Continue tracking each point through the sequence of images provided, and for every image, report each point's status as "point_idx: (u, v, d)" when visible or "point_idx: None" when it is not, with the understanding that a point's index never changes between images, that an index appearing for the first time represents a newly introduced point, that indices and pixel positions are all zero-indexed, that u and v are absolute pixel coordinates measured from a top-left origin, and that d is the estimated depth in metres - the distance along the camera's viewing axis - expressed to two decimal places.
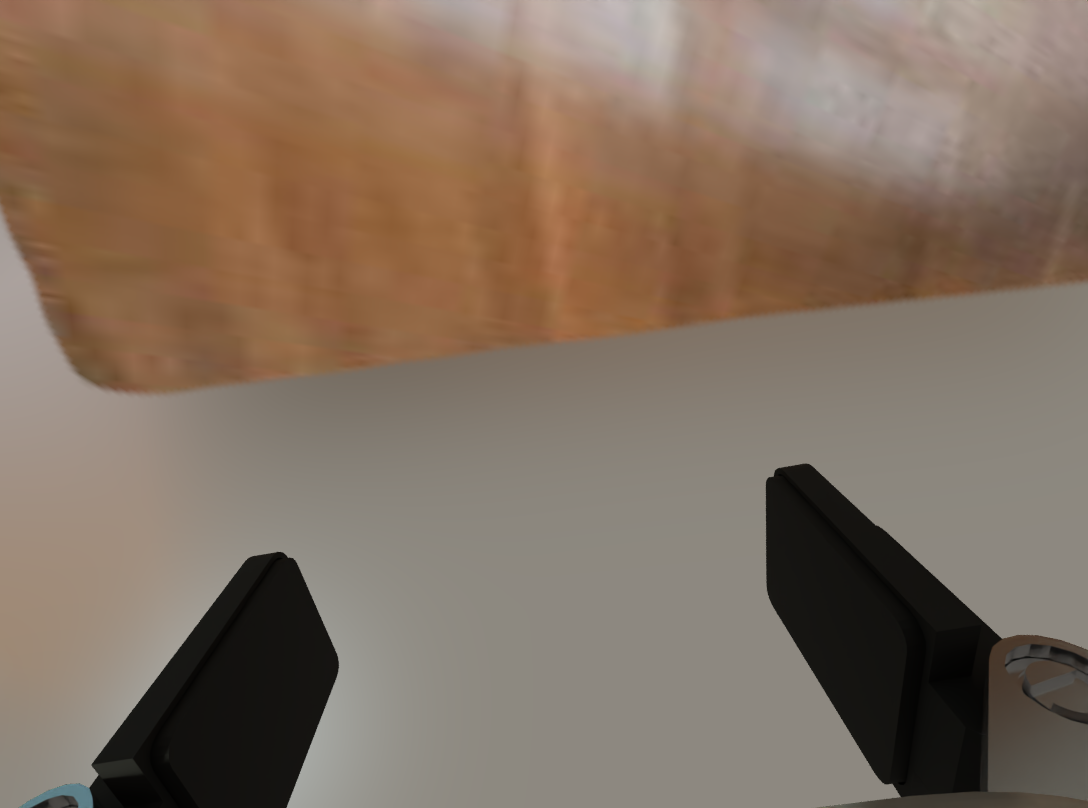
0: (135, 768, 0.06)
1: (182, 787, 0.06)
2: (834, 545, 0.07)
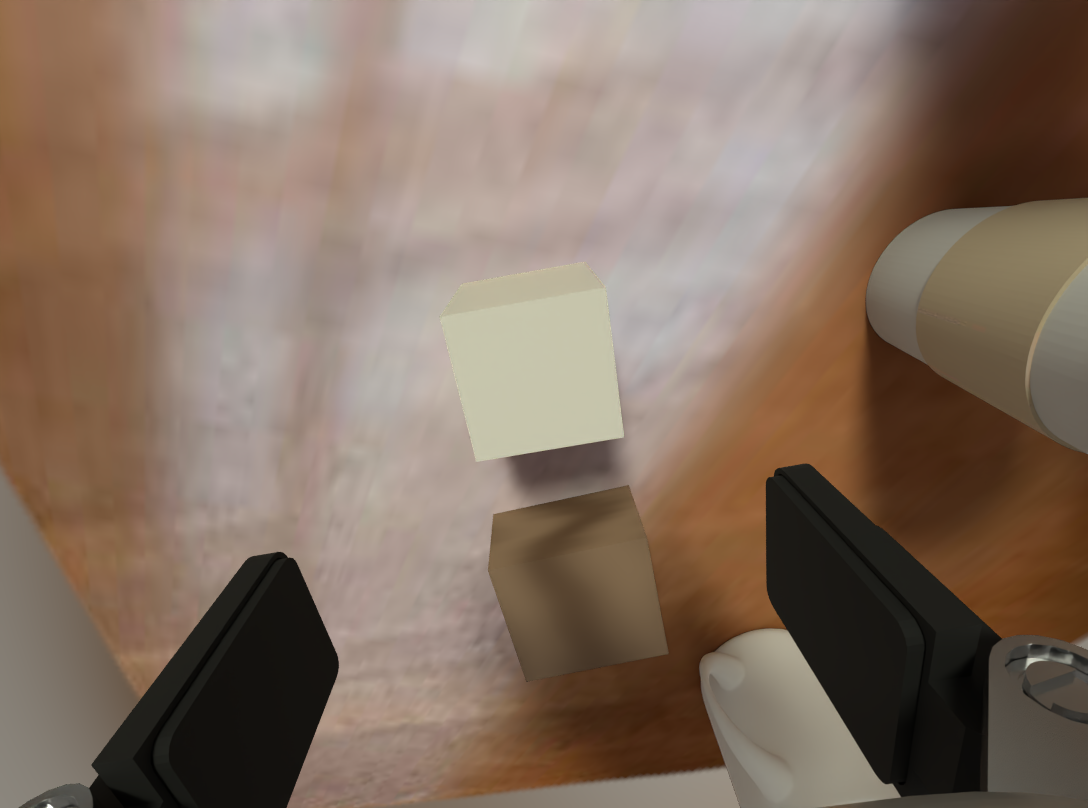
0: (135, 768, 0.06)
1: (182, 787, 0.06)
2: (834, 545, 0.07)
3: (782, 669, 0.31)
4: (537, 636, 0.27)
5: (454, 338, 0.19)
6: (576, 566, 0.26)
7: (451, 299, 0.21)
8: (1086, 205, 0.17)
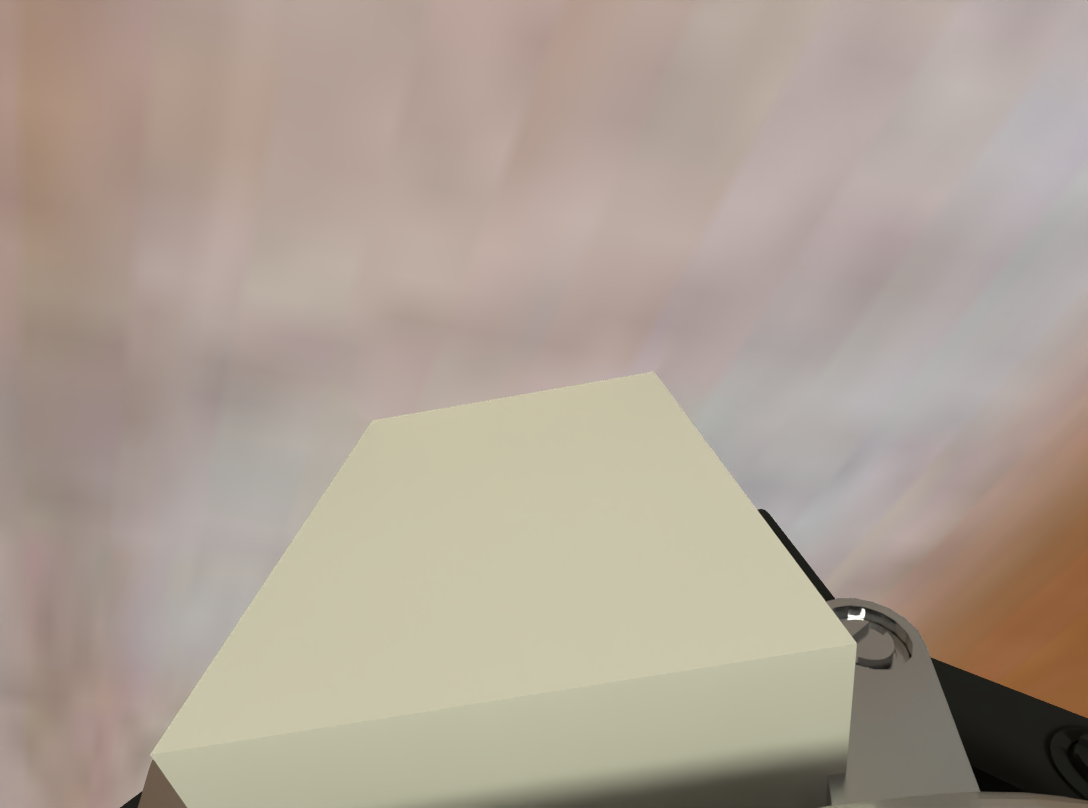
0: None
1: None
2: None
3: None
4: None
5: None
6: None
7: (297, 533, 0.07)
8: None
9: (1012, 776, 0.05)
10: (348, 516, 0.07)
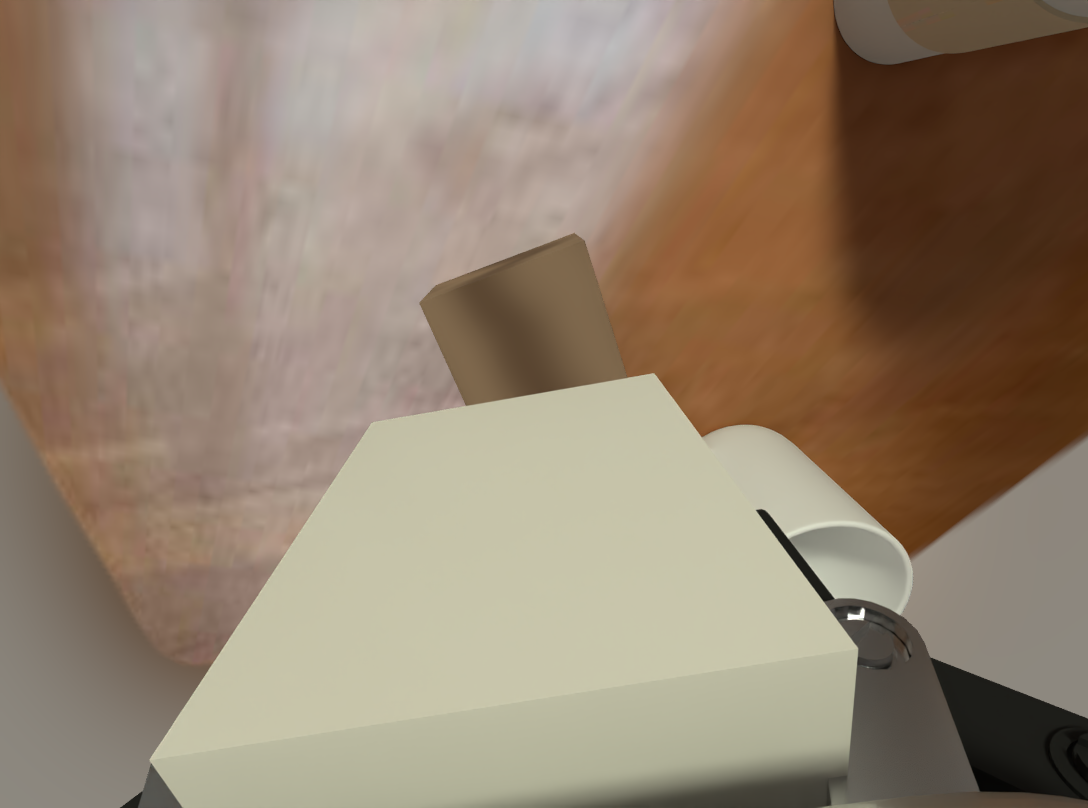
0: None
1: None
2: None
3: (752, 446, 0.29)
4: (487, 386, 0.25)
5: None
6: (513, 288, 0.24)
7: (297, 536, 0.07)
8: None
9: (1011, 776, 0.05)
10: (348, 519, 0.07)
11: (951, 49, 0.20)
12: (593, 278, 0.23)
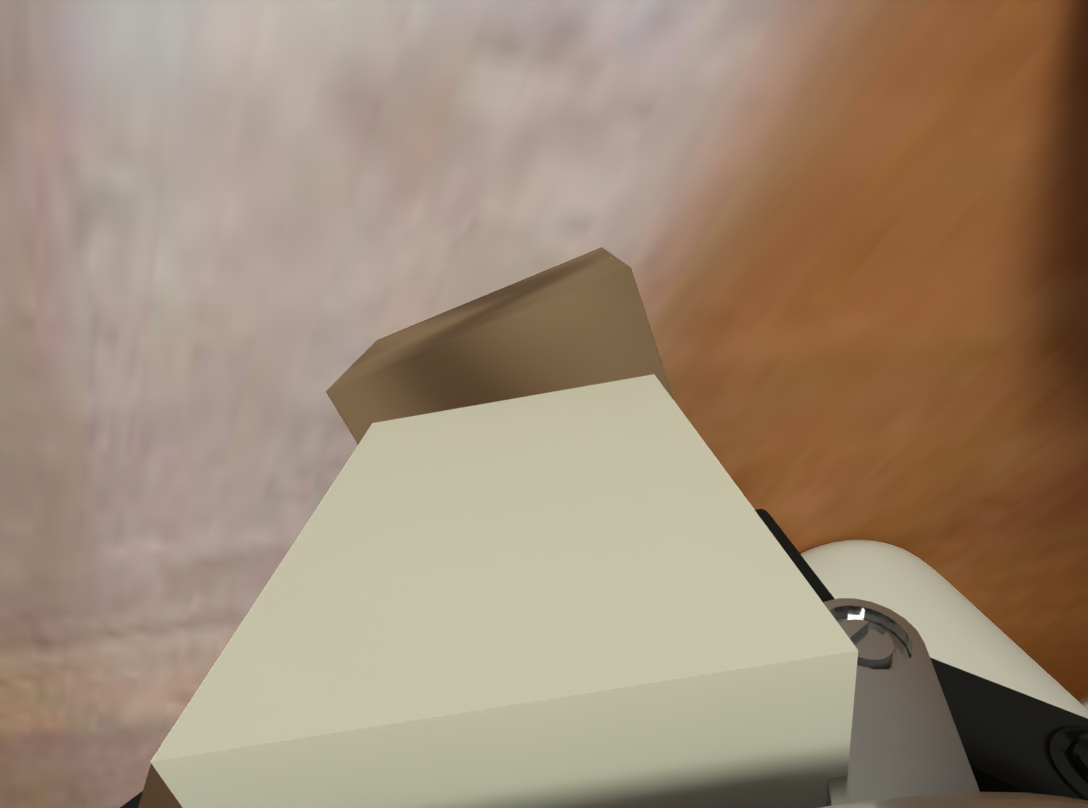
0: None
1: None
2: None
3: (892, 594, 0.18)
4: None
5: None
6: (498, 359, 0.13)
7: (297, 537, 0.07)
8: None
9: (1011, 776, 0.05)
10: (348, 520, 0.07)
11: None
12: (647, 336, 0.13)
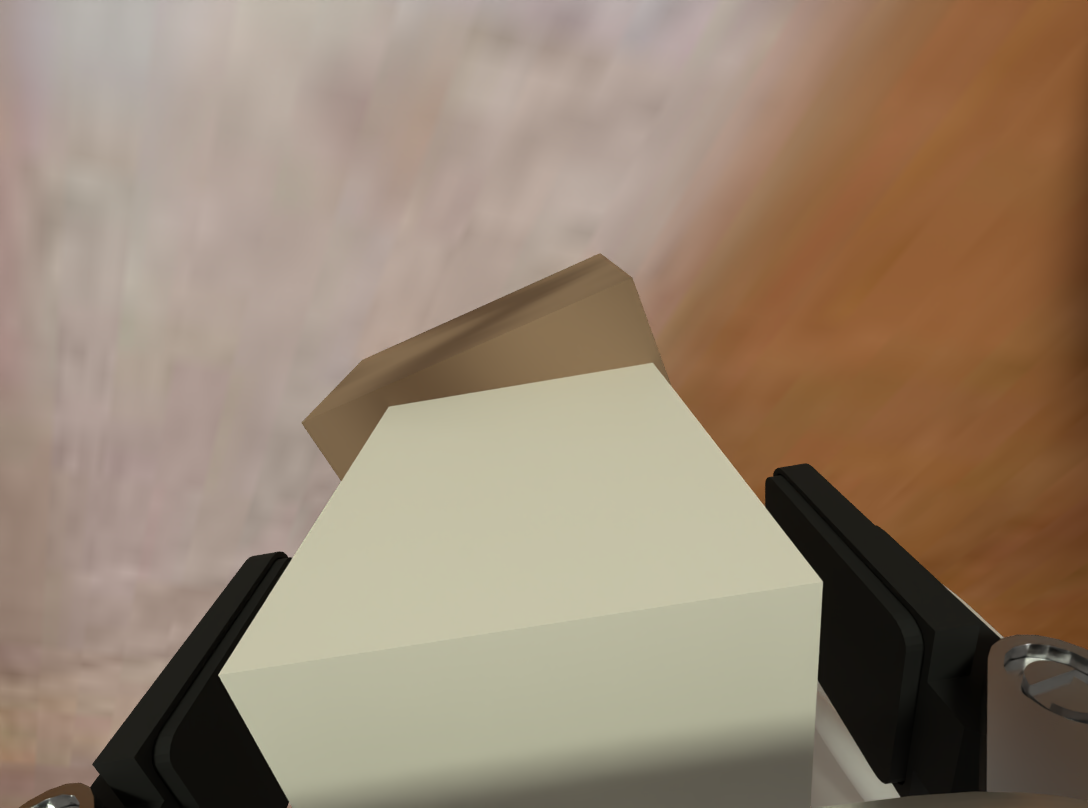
0: (136, 767, 0.06)
1: (183, 786, 0.06)
2: (833, 545, 0.07)
3: None
4: None
5: (283, 728, 0.05)
6: (489, 382, 0.11)
7: (328, 502, 0.08)
8: None
9: None
10: (373, 488, 0.08)
11: None
12: (653, 352, 0.11)
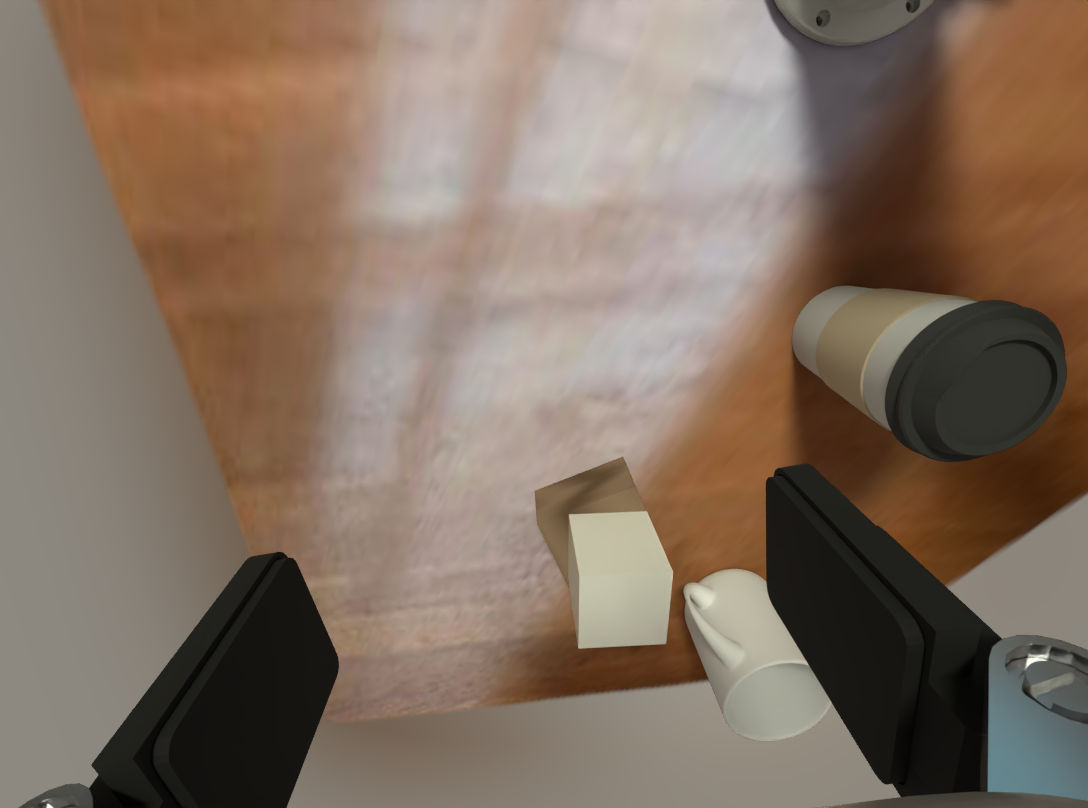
0: (135, 768, 0.06)
1: (182, 787, 0.06)
2: (834, 545, 0.07)
3: (740, 592, 0.44)
4: None
5: (584, 587, 0.33)
6: (593, 512, 0.39)
7: (574, 546, 0.35)
8: (895, 297, 0.31)
9: None
10: (583, 543, 0.36)
11: None
12: (641, 504, 0.39)
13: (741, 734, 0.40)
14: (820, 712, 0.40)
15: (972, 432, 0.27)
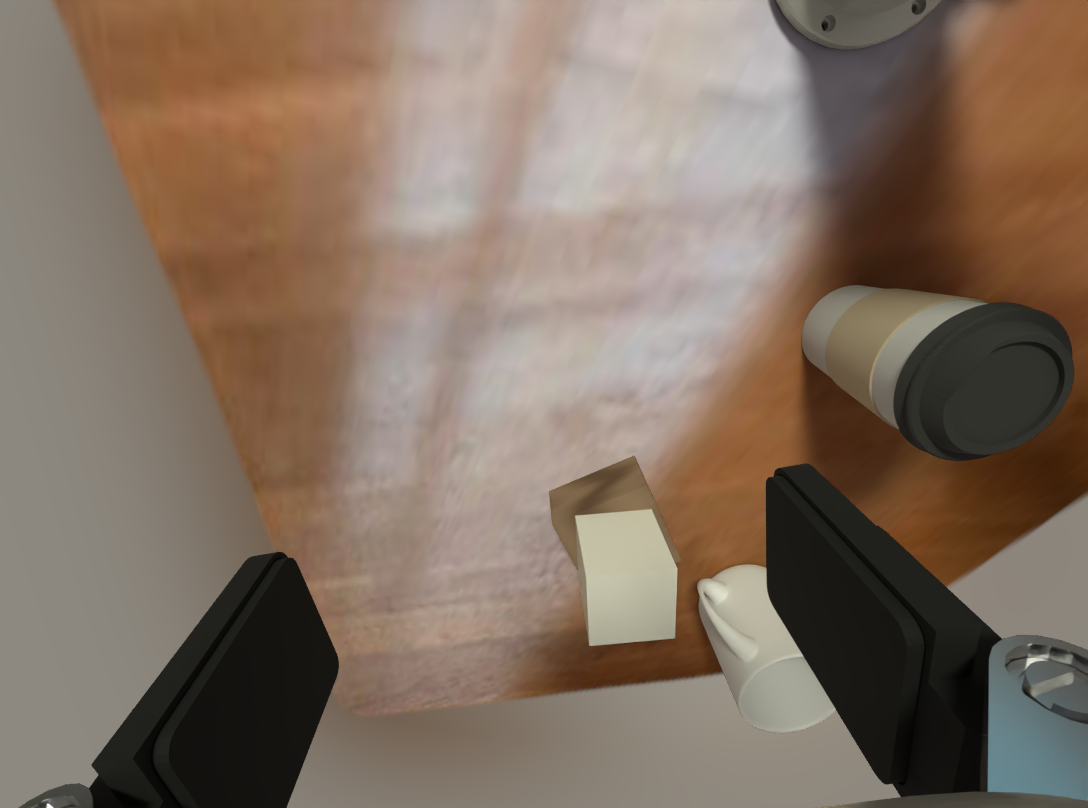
0: (135, 768, 0.06)
1: (182, 787, 0.06)
2: (834, 545, 0.07)
3: (753, 587, 0.45)
4: None
5: (591, 587, 0.34)
6: (606, 511, 0.40)
7: (580, 547, 0.36)
8: (903, 298, 0.32)
9: None
10: (589, 544, 0.37)
11: None
12: (653, 502, 0.40)
13: (756, 726, 0.41)
14: None
15: (980, 432, 0.28)
